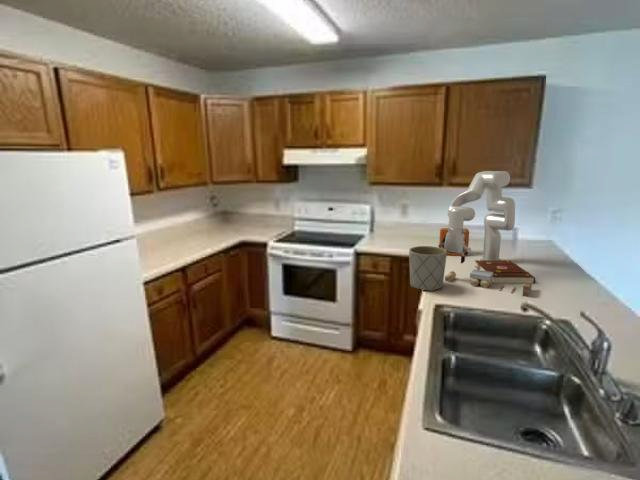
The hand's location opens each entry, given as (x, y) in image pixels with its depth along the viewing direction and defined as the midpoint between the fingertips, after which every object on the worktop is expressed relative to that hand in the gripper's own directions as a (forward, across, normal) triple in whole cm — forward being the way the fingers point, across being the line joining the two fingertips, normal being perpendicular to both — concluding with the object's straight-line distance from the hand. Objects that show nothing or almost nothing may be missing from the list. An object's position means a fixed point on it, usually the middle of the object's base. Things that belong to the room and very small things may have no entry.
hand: (453, 261), depth 210 cm
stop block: (+11, -37, -1) cm, 39 cm away
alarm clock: (+10, +16, -55) cm, 58 cm away
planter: (+12, +9, +16) cm, 22 cm away
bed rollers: (+11, -21, -1) cm, 24 cm away
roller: (+11, 0, -1) cm, 11 cm away
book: (+11, -21, -26) cm, 35 cm away
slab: (+7, -15, -1) cm, 17 cm away
